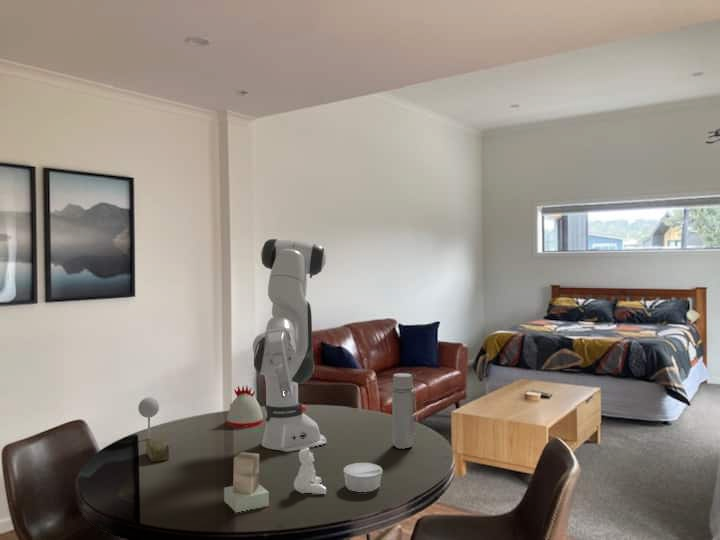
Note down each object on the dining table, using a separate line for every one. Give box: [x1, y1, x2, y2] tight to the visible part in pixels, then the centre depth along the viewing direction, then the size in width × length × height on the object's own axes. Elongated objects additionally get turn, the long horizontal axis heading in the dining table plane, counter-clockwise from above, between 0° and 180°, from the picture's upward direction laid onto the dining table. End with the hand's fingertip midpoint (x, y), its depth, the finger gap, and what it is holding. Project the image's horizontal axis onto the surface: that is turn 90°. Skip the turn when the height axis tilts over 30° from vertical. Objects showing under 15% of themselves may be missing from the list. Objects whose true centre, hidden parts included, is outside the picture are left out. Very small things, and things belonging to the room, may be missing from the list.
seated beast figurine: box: [293, 448, 327, 495], centre depth 168 cm, size 10×9×12 cm
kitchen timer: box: [226, 385, 264, 428], centre depth 237 cm, size 14×14×15 cm
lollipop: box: [138, 397, 160, 440], centre depth 215 cm, size 7×7×15 cm
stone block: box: [145, 437, 170, 463], centre depth 196 cm, size 6×12×5 cm, turn 28°
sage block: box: [223, 483, 270, 514], centre depth 159 cm, size 9×9×4 cm
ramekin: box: [343, 462, 383, 492], centre depth 170 cm, size 11×11×5 cm
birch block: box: [232, 451, 260, 494], centre depth 159 cm, size 5×5×9 cm
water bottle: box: [391, 372, 419, 446], centre depth 206 cm, size 9×8×25 cm
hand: (281, 383), depth 160 cm, fingers open, 8 cm apart
